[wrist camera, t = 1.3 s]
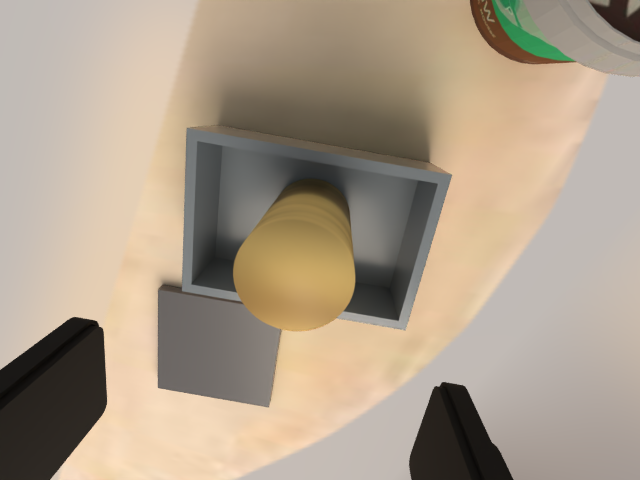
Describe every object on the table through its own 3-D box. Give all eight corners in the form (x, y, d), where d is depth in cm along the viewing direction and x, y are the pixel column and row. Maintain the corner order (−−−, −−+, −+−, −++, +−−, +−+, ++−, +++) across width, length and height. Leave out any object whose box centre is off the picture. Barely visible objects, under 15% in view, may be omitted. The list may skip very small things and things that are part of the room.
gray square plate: (163, 284, 28) (158, 289, 27) (284, 306, 28) (283, 311, 27) (162, 381, 32) (157, 387, 31) (270, 400, 32) (268, 407, 31)
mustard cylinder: (278, 172, 24) (238, 209, 15) (357, 185, 24) (367, 232, 15) (269, 245, 26) (228, 320, 17) (342, 257, 26) (342, 340, 17)
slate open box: (217, 124, 24) (186, 127, 19) (430, 162, 24) (452, 174, 19) (209, 260, 27) (181, 291, 23) (394, 292, 27) (405, 330, 23)
